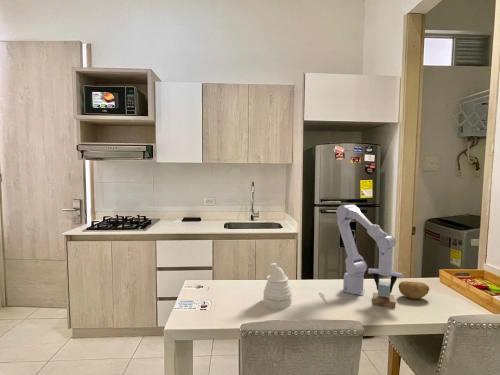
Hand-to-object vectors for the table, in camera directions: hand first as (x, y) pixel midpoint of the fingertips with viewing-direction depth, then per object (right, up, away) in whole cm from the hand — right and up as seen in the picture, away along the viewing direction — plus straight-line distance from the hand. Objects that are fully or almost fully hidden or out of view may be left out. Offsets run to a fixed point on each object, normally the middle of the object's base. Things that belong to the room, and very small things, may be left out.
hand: (384, 290), depth 152 cm
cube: (0, -2, 0) cm, 2 cm away
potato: (+17, -6, +6) cm, 19 cm away
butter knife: (-27, -6, -2) cm, 28 cm away
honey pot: (-50, -5, -2) cm, 50 cm away
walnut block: (0, -6, 0) cm, 6 cm away
